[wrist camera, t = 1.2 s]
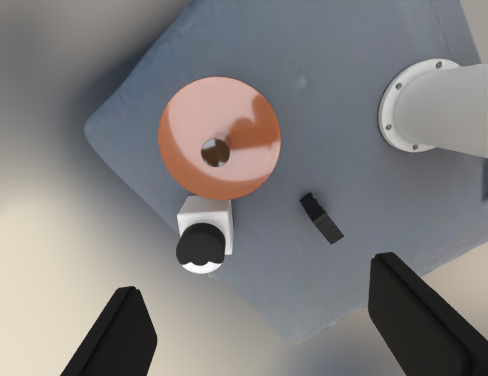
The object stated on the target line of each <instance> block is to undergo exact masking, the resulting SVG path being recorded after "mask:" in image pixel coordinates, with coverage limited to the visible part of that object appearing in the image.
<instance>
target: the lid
mask: <svg viewBox="0 0 488 376" xmlns="http://www.w3.org/2000/svg"><path fill="white" fill-rule="evenodd" d="M158 143H159V149H160V153H161V156H162V159H163V161H164V164H165V166H166V167H167V169H168V171H169V172H170V174H171V175H172V176H173V178H174V179H175V180H176V181H177V182H178V183H179V184H180V185H182V186H183V187H184V188H185V189H187V190H189V191H190V192H192V193H194V194H196V195H198V196H201V197H204V198H208V199H213V200H230V199H236V198H239V197H242V196H245V195H247V194H249V193H251V192H253V191H254V190H256V189H257V188H258V187H260V186H261V185H262V184H263V183H264V182H265V181H266V180H267V178H268V177H269V176H270V175H271V173H272V171H273V170H274V168H275V166H276V163H277V161H278V158H279V154H280V148H281V133H280V127H279V123H278V120H277V117H276V114H275V112H274V111H273V109H272V107H271V105H270V104H269V103H268V101H267V100H266V99H265V98H264V97H263V96H262V95H261V93H259V92H258V91H257V90H256V89H254V88H253V87H251V86H250V85H248V84H246V83H244V82H242V81H240V80H237V79H233V78H229V77H221V76H216V77H206V78H202V79H199V80H196V81H193V82H191V83H189V84H187V85H186V86H184V87H183V88H182V89H180V90H179V91H178V92H177V93H176V94H175V95H174V96H173V97H172V98H171V100H170V101H169V102H168V104H167V105H166V107H165V109H164V111H163V114H162V116H161V119H160V124H159V130H158Z"/></svg>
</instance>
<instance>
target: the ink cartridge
mask: <svg viewBox="0 0 488 376" xmlns="http://www.w3.org/2000/svg"><path fill="white" fill-rule="evenodd" d="M299 201H300V202H301V204H302V206H303V207H304V209H305V211H306V212H307V214H308V215H309V217H310V219H311V220H312V222H313V223H314V224H315V226H316V227H317V228H318V229H319V231H320V232H321V233H322V234H323V235H324V237H325V238H326V239H327V240H328V242H329V243H330V244H331V245H332V244H333V243H335V242H336V241H338V240H339V239H341V238H342V237H344V235H343V234H342V233H341V231H340V230H339V229H338V228H337V226H336V225H335V224H334V222H333V221H332V220H331V219H330V217H329V216H328V215H327V212H326V211H325V210H324V209H323V207H322V206H320V205H319V203H318V202H317V200H316V199H315V197H314V196H313V195H312V193H309V194H308V195H306V196H305V197H304V198H302V199H301V200H299Z"/></svg>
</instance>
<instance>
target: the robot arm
mask: <svg viewBox="0 0 488 376" xmlns="http://www.w3.org/2000/svg"><path fill="white" fill-rule="evenodd" d="M395 86H396V88H395ZM378 122H379V127H380V131H381V133H382V135H383V137H384V138H385V140H386V141H387V142H388V143H389V144H390V145H392V146H393V147H395V148H397V149H400V150H403V151H407V152H423V151H426V150H430V149H433V148H435V147H439V148H443V149H448V150H452V151H457V152H461V153H466V154H470V155H475V156H479V157H484V158H488V63H483V64H477V65H471V66H465V67H460V66H459V65H458V64H456V63H454V62H452V61H450V60H446V59H431V60H426V61H422V62H419V63H416V64H414V65H412V66H410V67H408V68H407V69H405V70H404V71H403V72H401V73H400V74H399V75H398V76H397V77H396V78H395V79H394V80H393V81H392V82H391V84H390V85H389V87H388V88H387V89H386V91H385V93H384V95H383V97H382V100H381V103H380V106H379V113H378ZM386 126H387V127H386ZM368 311H369V315H370V318H371V320H372V321H373V323H374V324H375V326H376V328H377V329H378V331H379V332H380V334H381V336H382V337H383V338H384V340H385V342H386V344H387V345H388V347H389V348H390V350H391V352H392V353H393V355H394V356H395V358H396V360H397V361H398V363H399V364H400V366H401V368H402V369H403V371H404V372H405V374H406V376H488V341H487V340H486V339H485V338H484V337H483V336H482V335H481V334H480V333H479V332H478V331H477V330H476V329H475V328H474V327H473V326H472V325H470V324H469V323H468V322H467V321H466V320H465V319H464V318H463V317H462V316H461V315H460V314H459V313H458V312H457V311H456V310H454V308H452V307H451V306H450V305H449V304H448V303H447V302H446V301H445V300H444V299H443V298H442V297H441V296H440V295H439V294H438V293H437V292H436V291H434V290H433V289H432V288H431V287H429V286H428V285H427V284H426V283H425V282H424V281H423V280H422V279H421V278H420V277H419V276H418V275H417V274H416V273H415V272H414V271H413V270H411V269H410V268H409V267H408V266H407V265H406V264H405V263H404V262H403V261H402V260H401V259H400V258H399V257H398V256H397V255H396V254H394V253H393V252H388V253H380V254H376V255H375V258H373V259H372V260H371V271H370V286H369V302H368ZM156 346H157V335H156V332H155V329H154V327H153V324H152V322H151V319H150V316H149V313H148V311H147V308H146V305H145V303H144V300H143V297H142V295H141V292H140V290H138V289H136V288H135V287H134V286H129V287H122V288H118V289H117V290H116V291H115V293H114V294H113V296H112V297H111V299H110V300H109V302H108V303H107V305H106V306H105V308H104V309H103V311H102V312H101V314H100V316H99V317H98V319H97V320H96V322H95V324H94V325H93V326H92V328H91V329H90V331H89V332H88V334H87V336H86V337H85V339H84V340H83V342H82V343H81V345H80V346H79V348H78V349H77V351H76V352H75V354H74V355H73V357H72V358H71V360H70V361H69V363H68V365H67V366H66V368H65V369H64V371H63V372H62V374H61V375H60V376H147V373H148V370H149V367H150V364H151V361H152V358H153V355H154V352H155V349H156Z"/></svg>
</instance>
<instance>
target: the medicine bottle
mask: <svg viewBox="0 0 488 376" xmlns="http://www.w3.org/2000/svg"><path fill="white" fill-rule="evenodd" d="M177 219H178V225H179V230H180V236H181V238H180V240H179V243H178V245H177V248H176V256H177V259H178V261H179V263H180V264H181V265H182V266H183V267H185V268H186V269H187V270H189V271H191V272H194V273H201V274H202V273H208V272H212V271H214V270H216V269H217V268H218V267H219V266H220V265H221V264H222V262H223V260H224V256H225V255H230V254H232V247H233V219H232V208H231V199H230V200H213V199H208V198H204V197H201V196H198V195H195V196H188V197H187V198H186V200H185V202H184V204H183V205H182V207H181V209H180V211H179V212H178V214H177Z"/></svg>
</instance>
